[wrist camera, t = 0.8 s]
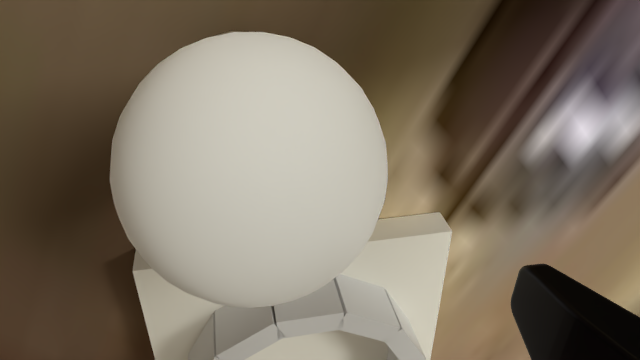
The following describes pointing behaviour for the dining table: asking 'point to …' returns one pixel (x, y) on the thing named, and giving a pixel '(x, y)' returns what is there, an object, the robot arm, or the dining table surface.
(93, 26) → the dining table surface
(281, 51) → the light bulb
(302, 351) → the socket base
